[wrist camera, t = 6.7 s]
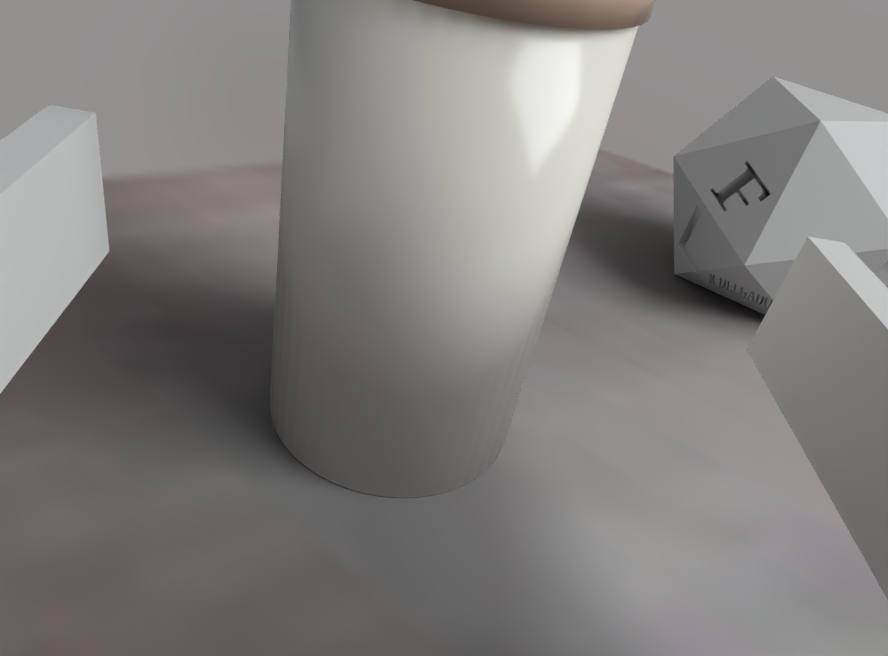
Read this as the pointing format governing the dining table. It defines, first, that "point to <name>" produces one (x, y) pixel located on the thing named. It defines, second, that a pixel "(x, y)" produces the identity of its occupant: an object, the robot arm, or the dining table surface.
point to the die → (779, 190)
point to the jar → (428, 222)
